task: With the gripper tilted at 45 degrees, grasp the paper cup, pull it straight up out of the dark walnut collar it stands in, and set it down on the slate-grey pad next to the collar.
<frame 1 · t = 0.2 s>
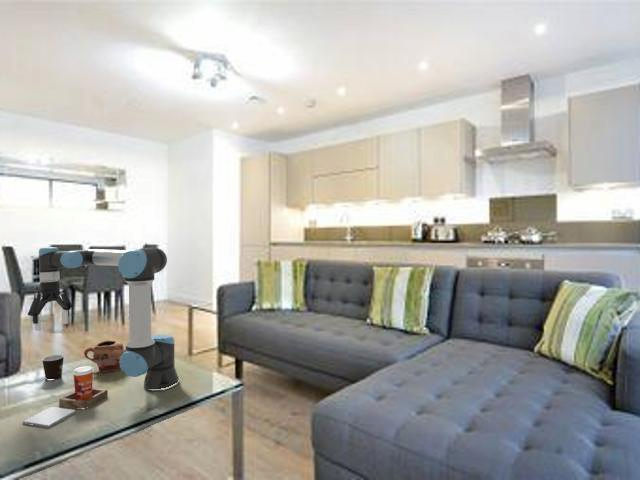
hand: (52, 327, 181), 27 cm above the table, tool pointing down, fingers open, 13 cm apart
slate pad: (50, 418, 152), on the table
decorative planter: (105, 369, 202), on the table
paper cup: (84, 401, 167), resting in walnut collar
coffee mug: (56, 377, 192), on the table
walnut collar: (84, 401, 167), on the table
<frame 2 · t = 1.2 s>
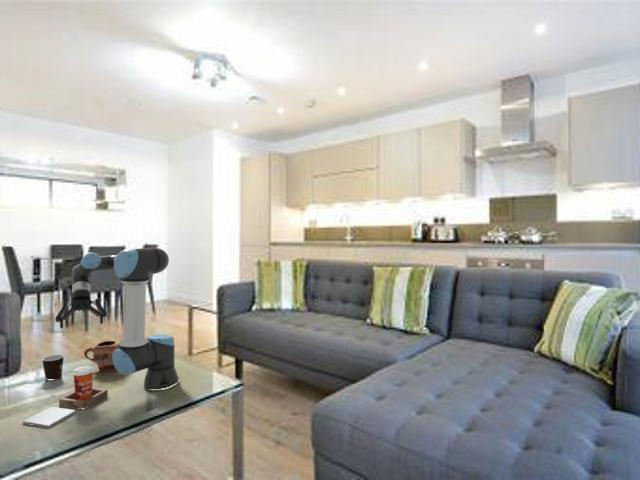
hand: (82, 331, 176), 26 cm above the table, tool tilted 45°, fingers open, 13 cm apart
nothing on the table moved.
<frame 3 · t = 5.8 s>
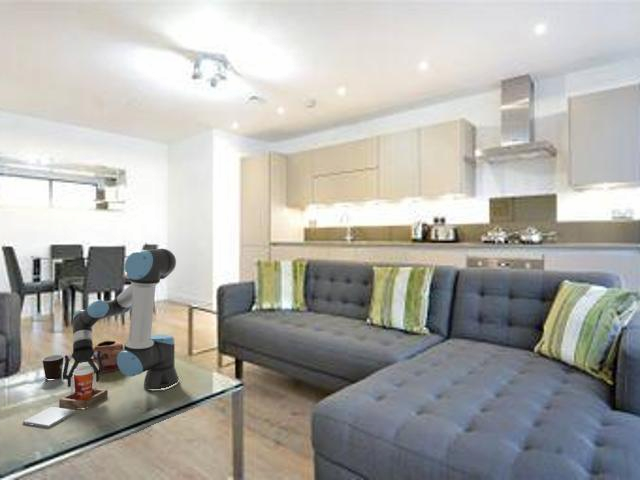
hand: (83, 391, 163), 6 cm above the table, tool tilted 45°, fingers closed on paper cup, 8 cm apart
paper cup: (84, 401, 167), resting in walnut collar, touching gripper
everything else where it was.
when the fingers open (9 cm above the table, at t = 11.9 s): paper cup drops 2 cm, resting on slate pad.
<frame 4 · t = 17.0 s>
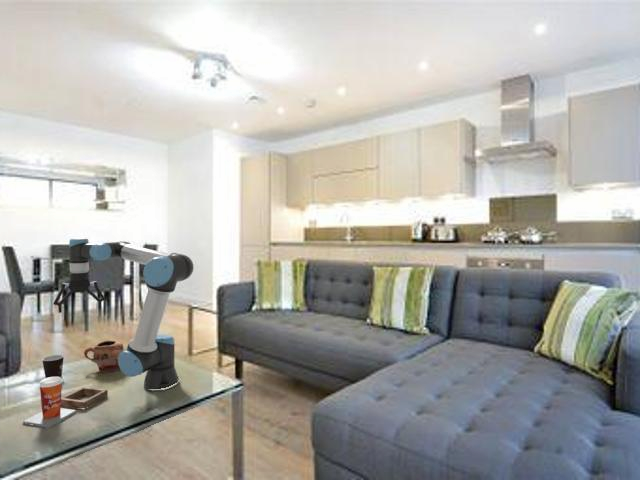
hand: (80, 317, 181), 32 cm above the table, tool pointing down, fingers open, 13 cm apart
paper cup: (51, 415, 153), point 1 cm above the table, touching slate pad
everything else where it was.
at the end: paper cup inside the target area on the slate pad (0.5 cm from its centre), point 0.8 cm above the slate pad's base; paper cup tilted 0°; the gripper is holding nothing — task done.
